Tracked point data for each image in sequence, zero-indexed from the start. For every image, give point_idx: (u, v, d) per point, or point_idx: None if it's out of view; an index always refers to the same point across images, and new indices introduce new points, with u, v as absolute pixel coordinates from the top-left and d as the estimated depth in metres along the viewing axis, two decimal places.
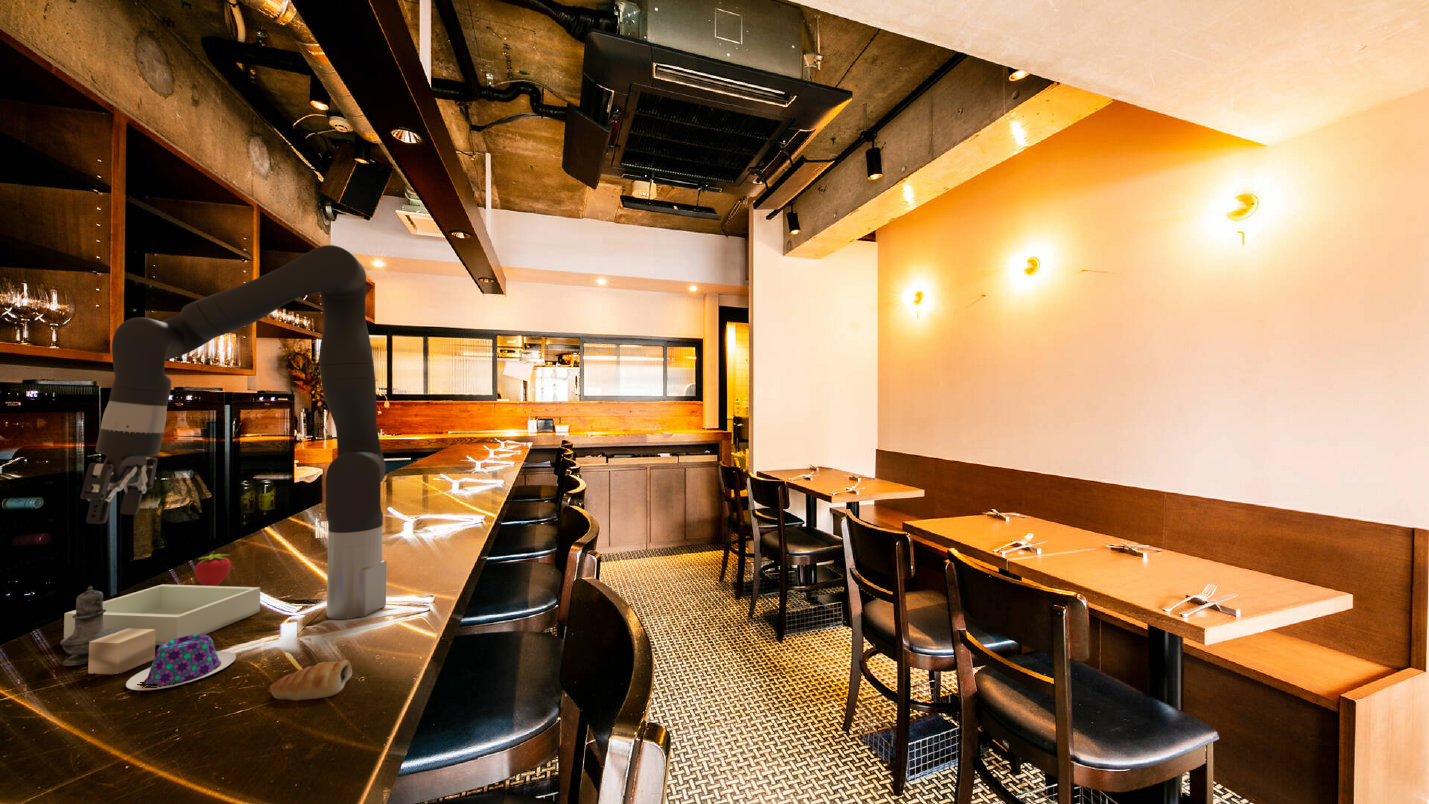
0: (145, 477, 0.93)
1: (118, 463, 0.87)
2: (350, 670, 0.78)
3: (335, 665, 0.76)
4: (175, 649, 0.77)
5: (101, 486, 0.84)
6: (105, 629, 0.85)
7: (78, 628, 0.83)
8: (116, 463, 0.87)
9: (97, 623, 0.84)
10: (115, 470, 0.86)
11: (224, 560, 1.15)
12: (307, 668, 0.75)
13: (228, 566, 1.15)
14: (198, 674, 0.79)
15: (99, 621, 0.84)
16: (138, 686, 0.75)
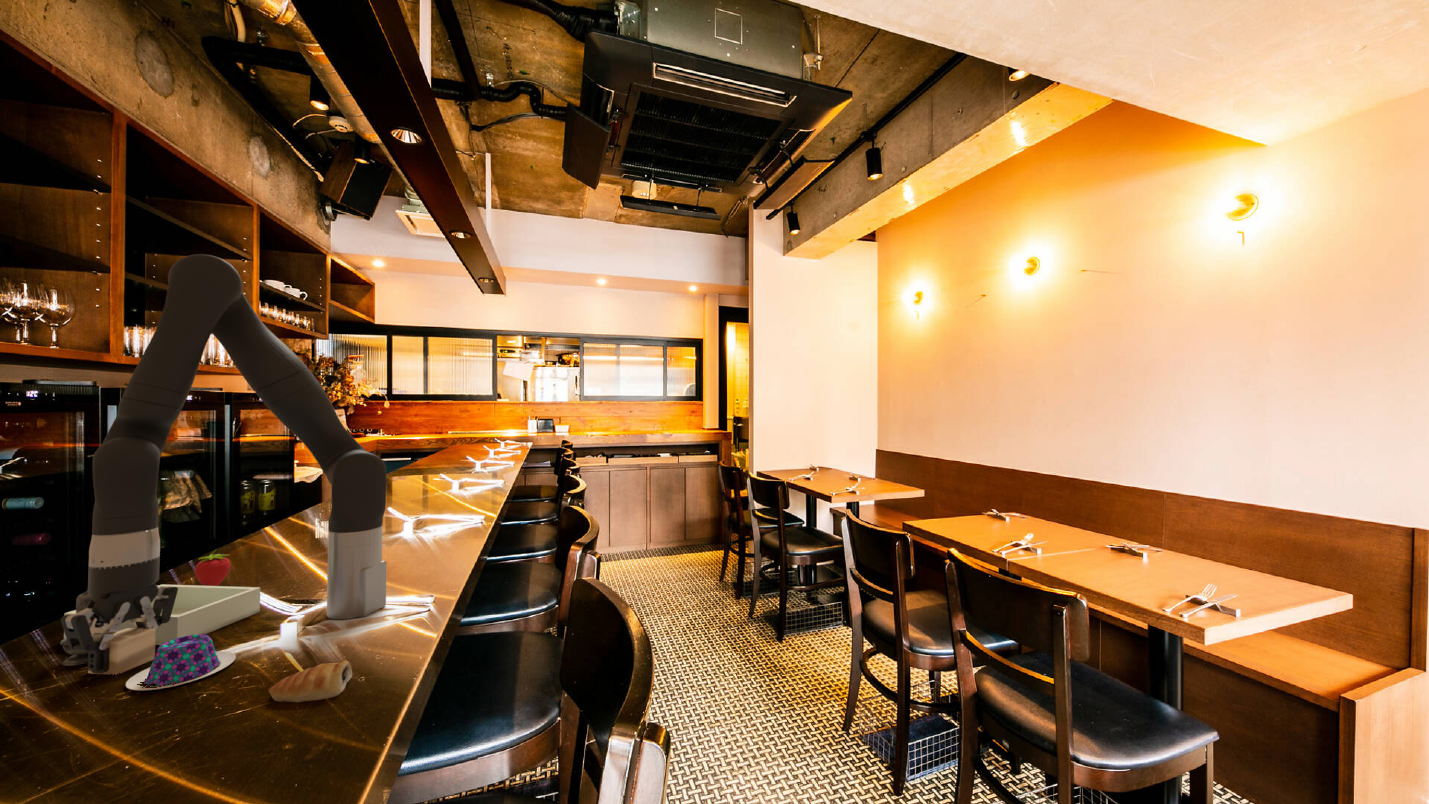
0: (150, 611, 0.84)
1: (97, 605, 0.78)
2: (350, 671, 0.78)
3: (335, 666, 0.75)
4: (174, 650, 0.77)
5: (80, 639, 0.76)
6: None
7: None
8: (95, 606, 0.77)
9: None
10: (98, 613, 0.78)
11: (224, 560, 1.15)
12: (307, 670, 0.74)
13: (228, 566, 1.15)
14: (197, 674, 0.78)
15: None
16: (137, 686, 0.75)
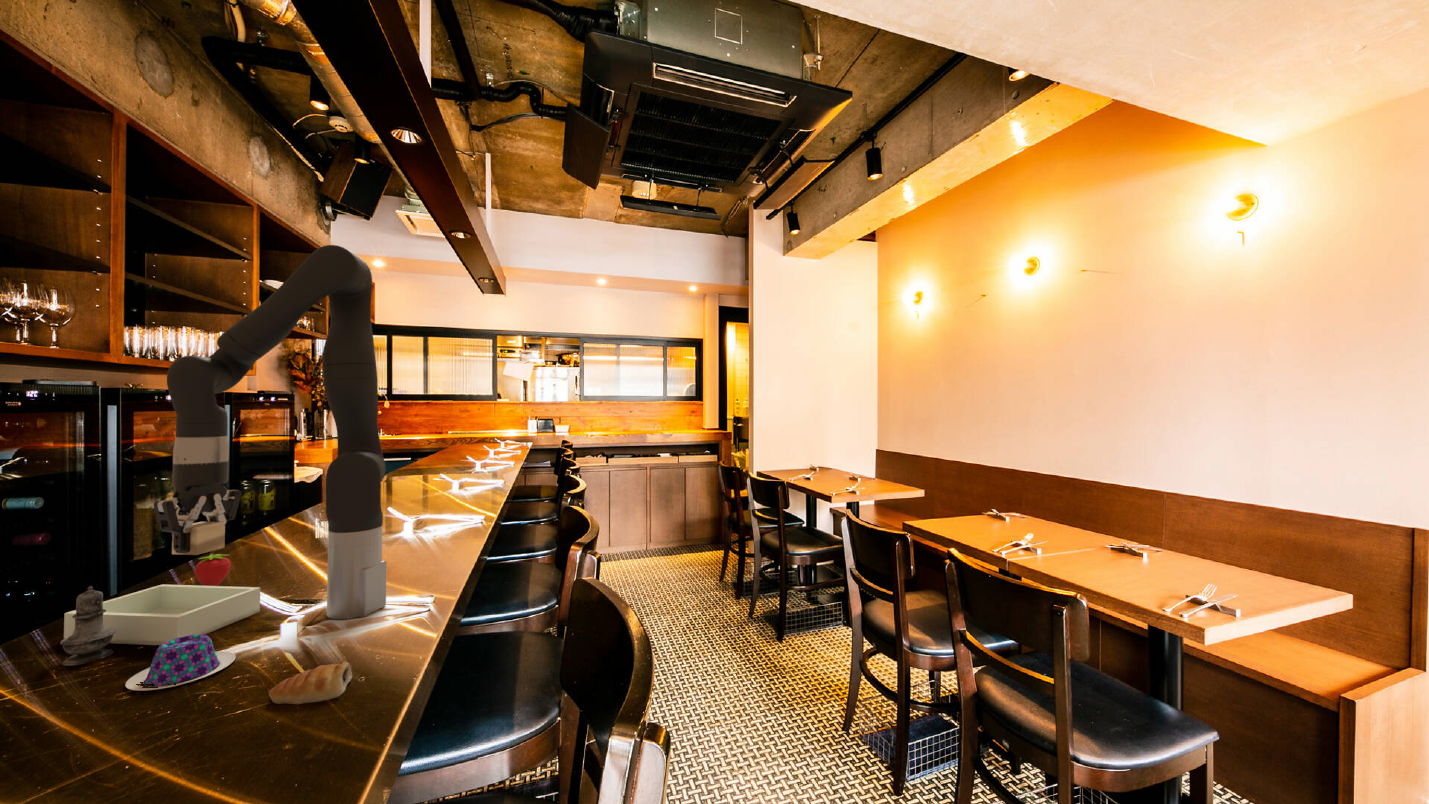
0: (221, 507, 0.99)
1: (181, 495, 0.93)
2: (350, 672, 0.77)
3: (336, 667, 0.75)
4: (172, 650, 0.77)
5: (169, 521, 0.90)
6: (105, 629, 0.85)
7: (78, 628, 0.83)
8: (179, 496, 0.92)
9: (97, 623, 0.84)
10: (182, 502, 0.93)
11: (224, 560, 1.15)
12: (307, 671, 0.74)
13: (228, 566, 1.15)
14: (195, 675, 0.78)
15: (99, 621, 0.84)
16: (137, 686, 0.75)
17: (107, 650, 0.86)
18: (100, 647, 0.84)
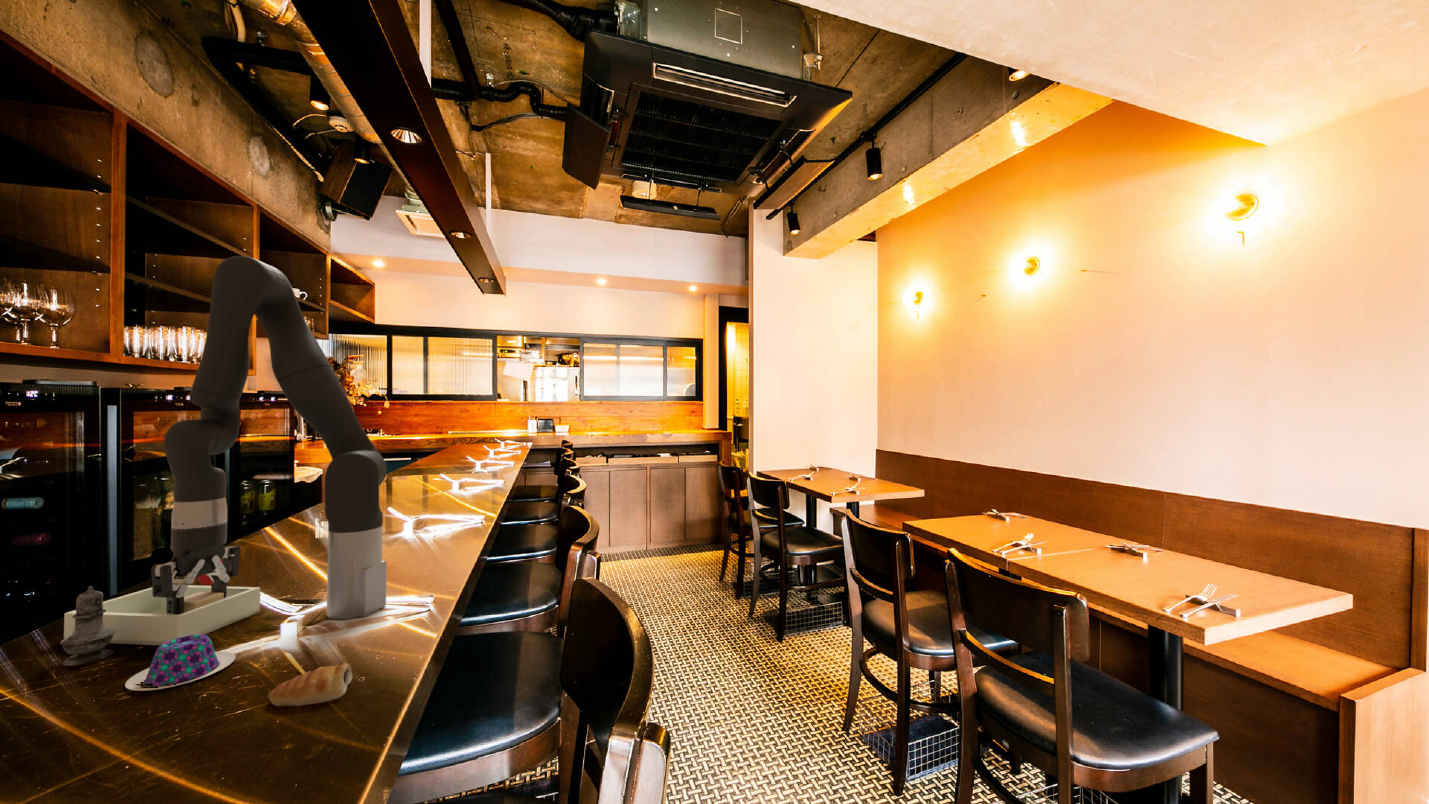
0: (221, 567, 0.99)
1: (180, 560, 0.92)
2: (350, 673, 0.77)
3: (336, 668, 0.75)
4: (171, 650, 0.77)
5: (163, 586, 0.90)
6: (105, 629, 0.85)
7: (78, 628, 0.83)
8: (178, 560, 0.92)
9: (97, 623, 0.84)
10: (179, 566, 0.92)
11: None
12: (307, 673, 0.73)
13: None
14: (193, 676, 0.78)
15: (99, 621, 0.84)
16: (136, 685, 0.75)
17: (107, 650, 0.86)
18: (100, 647, 0.84)
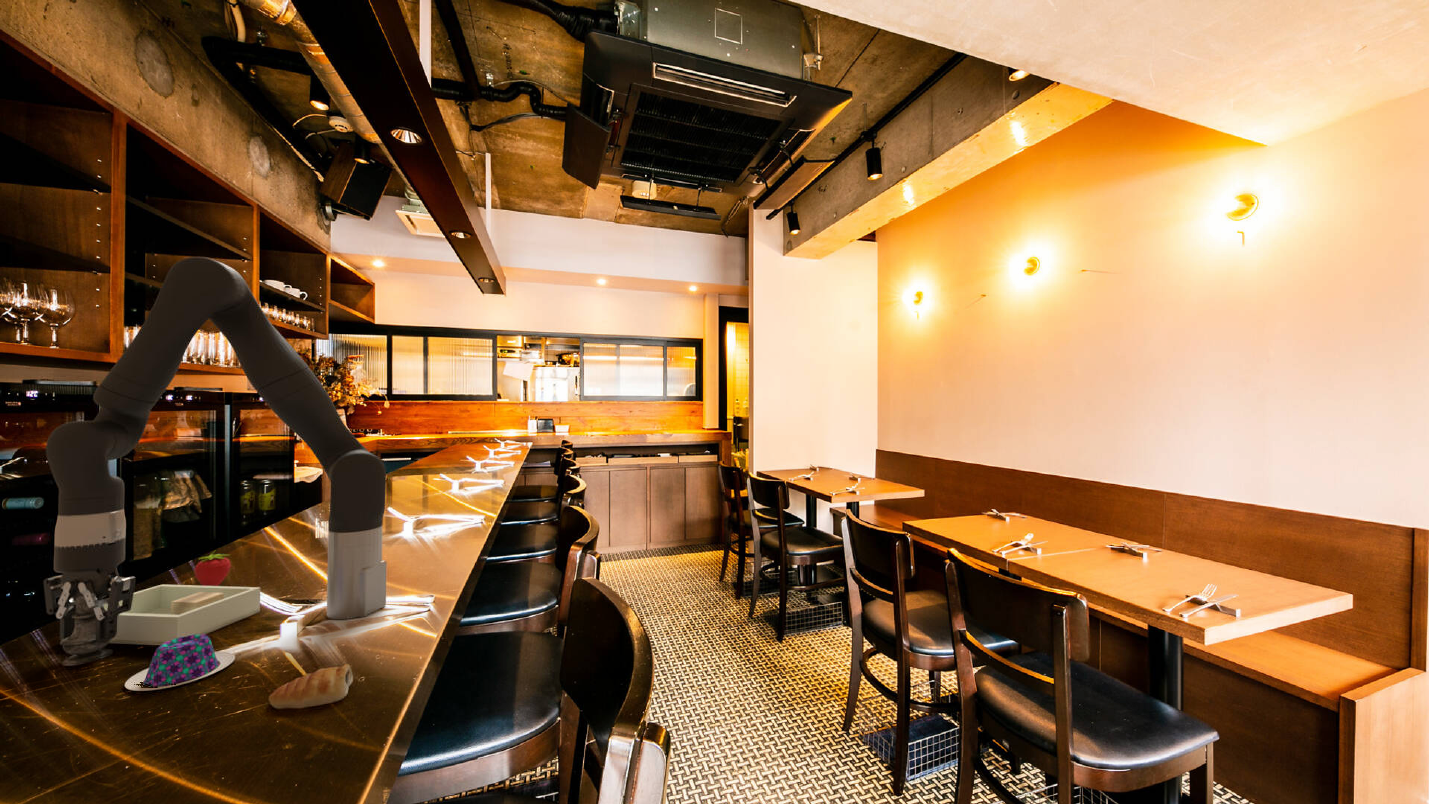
0: (90, 599, 0.82)
1: None
2: (351, 675, 0.77)
3: (337, 670, 0.74)
4: (169, 650, 0.77)
5: None
6: None
7: (78, 628, 0.83)
8: (62, 576, 0.84)
9: None
10: None
11: (224, 560, 1.15)
12: (307, 675, 0.73)
13: (228, 566, 1.15)
14: (190, 677, 0.78)
15: None
16: (135, 684, 0.76)
17: (107, 650, 0.86)
18: (100, 647, 0.84)
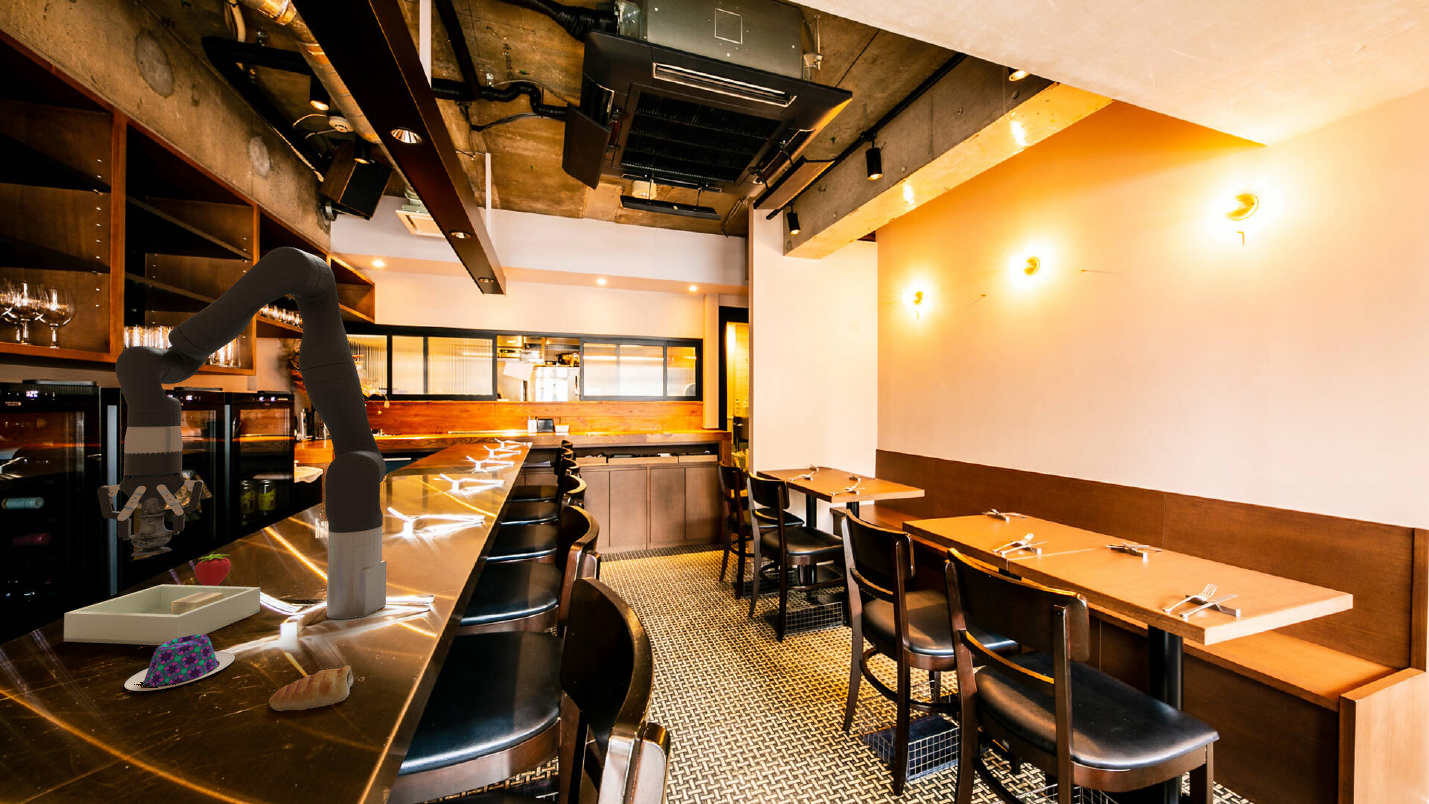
0: (170, 498, 0.98)
1: (121, 483, 0.94)
2: (351, 676, 0.76)
3: (338, 671, 0.74)
4: (167, 651, 0.77)
5: (101, 507, 0.92)
6: None
7: (152, 525, 0.96)
8: (120, 483, 0.94)
9: (163, 521, 0.98)
10: (122, 490, 0.94)
11: (224, 560, 1.15)
12: (308, 677, 0.72)
13: (228, 566, 1.15)
14: (188, 678, 0.77)
15: None
16: (135, 684, 0.76)
17: (162, 547, 0.99)
18: (168, 541, 0.98)
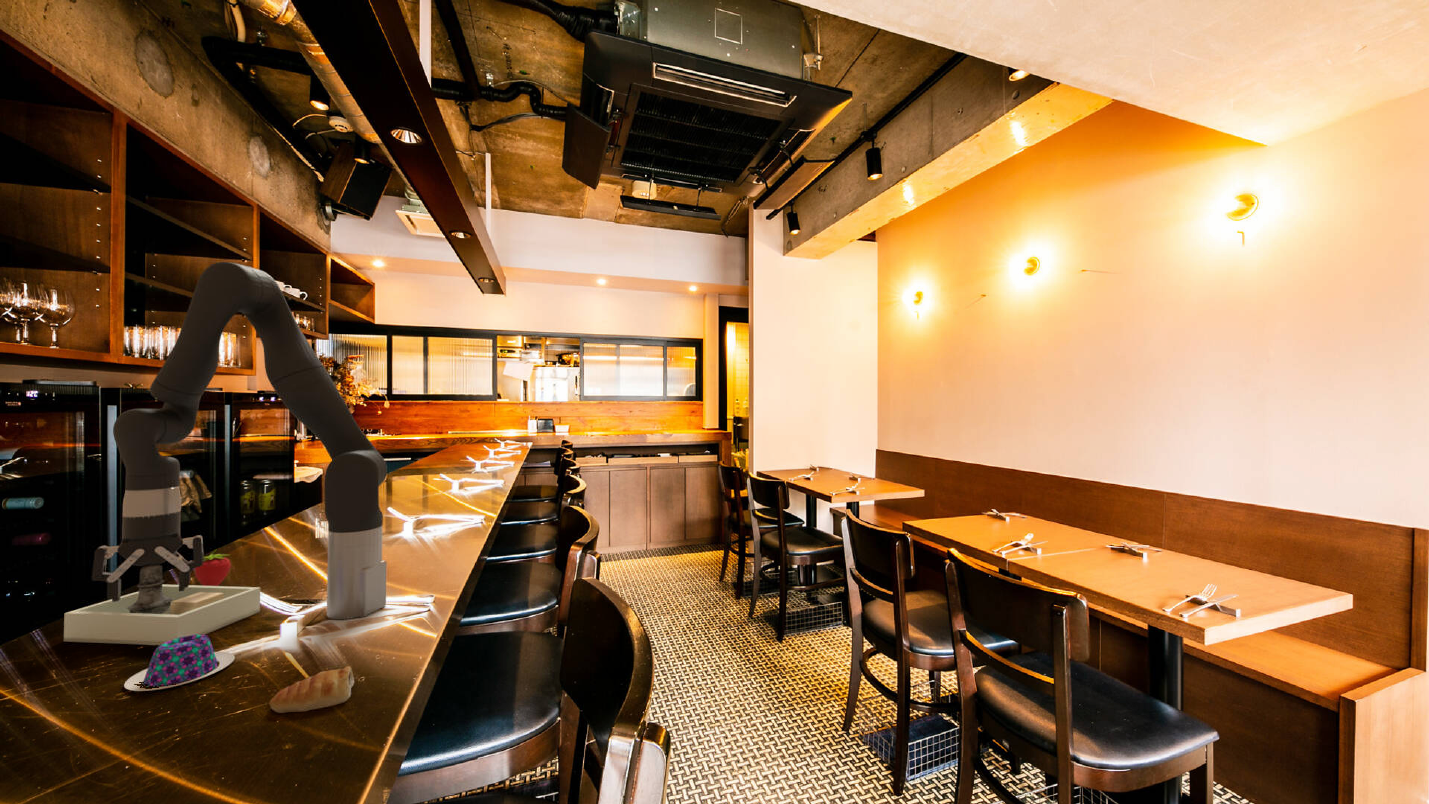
0: (172, 557, 0.98)
1: (120, 546, 0.94)
2: (352, 677, 0.76)
3: (339, 672, 0.74)
4: (166, 651, 0.77)
5: (93, 568, 0.92)
6: None
7: (150, 594, 0.96)
8: (119, 546, 0.94)
9: None
10: (119, 552, 0.94)
11: (224, 560, 1.15)
12: (309, 678, 0.72)
13: (228, 566, 1.15)
14: (186, 678, 0.77)
15: None
16: (134, 683, 0.76)
17: None
18: (167, 608, 0.98)
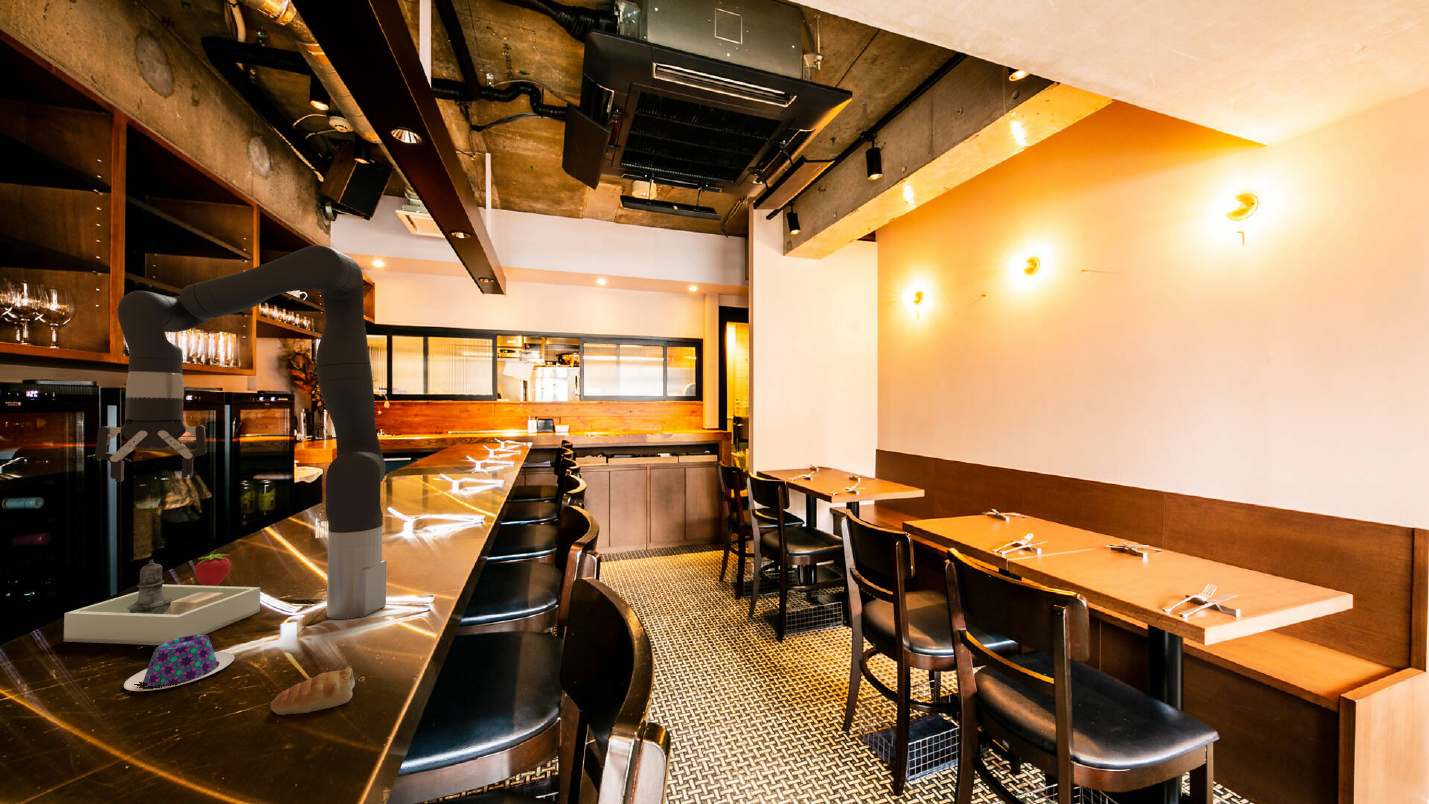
0: (175, 442, 0.98)
1: (123, 427, 0.94)
2: (353, 678, 0.76)
3: (341, 673, 0.73)
4: (164, 651, 0.77)
5: (96, 446, 0.92)
6: None
7: (150, 594, 0.96)
8: (122, 427, 0.94)
9: None
10: (122, 433, 0.94)
11: (224, 560, 1.15)
12: (310, 680, 0.72)
13: (228, 566, 1.15)
14: (183, 679, 0.77)
15: None
16: (134, 683, 0.76)
17: None
18: (167, 609, 0.98)
